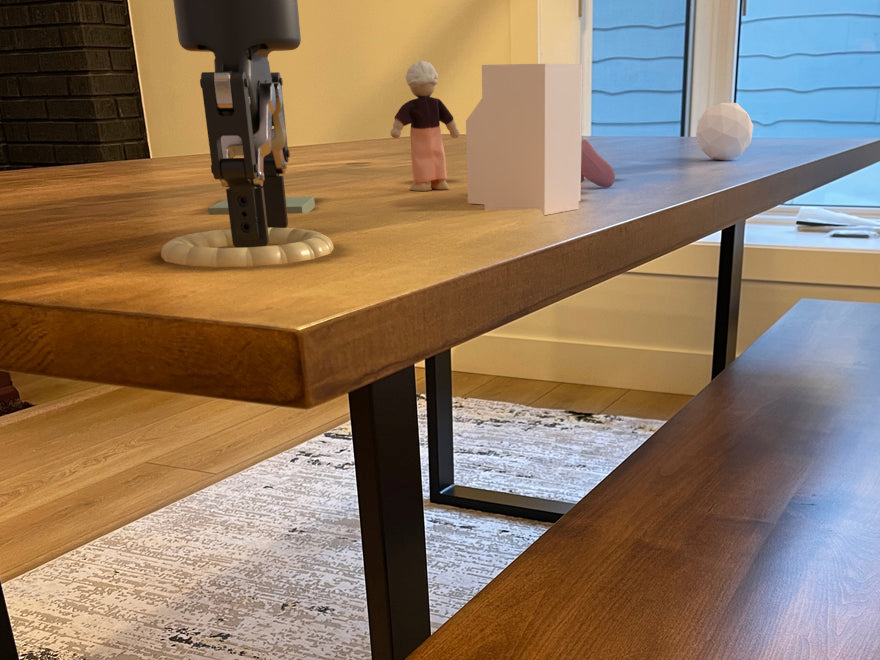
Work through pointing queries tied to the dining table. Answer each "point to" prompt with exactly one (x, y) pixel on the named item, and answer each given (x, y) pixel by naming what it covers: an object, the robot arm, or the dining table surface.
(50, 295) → the dining table surface
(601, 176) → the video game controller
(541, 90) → the white angular block
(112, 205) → the dining table surface
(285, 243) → the bracelet
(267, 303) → the dining table surface
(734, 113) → the geometric ball
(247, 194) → the robot arm
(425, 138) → the grandmother figurine
